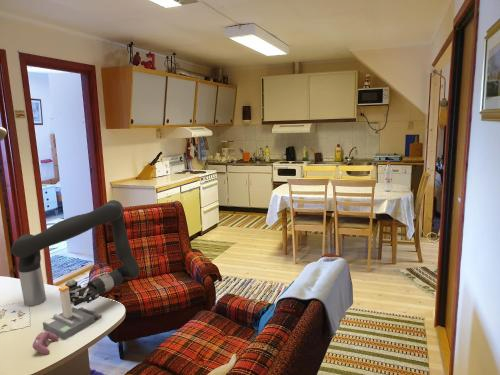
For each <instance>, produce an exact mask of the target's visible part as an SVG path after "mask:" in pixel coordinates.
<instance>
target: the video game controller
mask: <svg viewBox="0 0 500 375" xmlns="http://www.w3.org/2000/svg"><path fill="white" fill-rule="evenodd" d="M58 340H59V337H58V336H57V335H55V334H53V333H51V332H49V331H47V330H43V331H42V332H40V333H39V334H38V335H36V336H35V338H34V340H33V342H32V348H33V349H34V350H35V351H37V352H39V353H41V354H43V355H49V354H50V349H48V348H47V346H48V345H49V344H50V341H54V342H55V341H57V342H58Z"/></svg>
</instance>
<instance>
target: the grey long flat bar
mask: <svg viewBox="0 0 500 375" xmlns="http://www.w3.org/2000/svg"><path fill="white" fill-rule="evenodd" d="M78 309H79V310H81V311H83V312H86V313H88V314H90V315H93V316H94V318H95V322H97V321H99V320H100V319H102V314H99V313H96V312H94V311H92V310H89V309H87V308H85V307H82V306H81V307H78Z"/></svg>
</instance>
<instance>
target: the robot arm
mask: <svg viewBox="0 0 500 375" xmlns="http://www.w3.org/2000/svg"><path fill="white" fill-rule="evenodd" d="M107 223H108V224H109V223H110V225H111V229H112V230H111V231H112V236H113V244H114V245H113V246H114V249H115V253H116V258H117V260H118V261H119V262H121V263H122V265H120V266H118V267H116V268H115V269H114V270H112V271H110V272H109V273H106V274H103V275H100V276H98V277H96V278H94V279H91V280H90V281H88V282H87V284H86V286H82V284H77V286H76V287H74V288H71V289H69V295H70V298H71V297H79V299H77V300H75V301H73V302H72V303H73V307H77V306H78V305H80V304H83V303H87V304H90V303H91V302H94V301H95V300H96V299H98V298H100V295H101V296H102V294H105V293H107V292H108V291H110V290H112V289H113V288H115V287H117V286H119V285H121V284H122V282H123V281H124V280H125V279H128V280H129V279H130V280H134V279H137V278H138V277H139V276H140V270H141V269H140V266H139V263H138V261H137V259H136V258H135V256H134V255H133V251H132V247H131V244H130V240H129V238H128V233H127V228H126V224H125V219H124V207H123V204H122V203H121V202H120V201H119V200H116V199H115V200H114V199H111V200H109V201H106V202H105V203H104V204H103V205H101V206H99V207H98V208H96V209H94V210H92V211H90V212H87V213H82V214H77V215H74V216H71V217H68V218H66V219H63V220H61V221H58V222H57V223H54V224H53V225H50V227H48V228H46V229H44V230H43V231H41V232H39V233H37V234H34V235H33V234H30V233H26V234H22V235H21V236H19V237H18V238H17V239H16V240H14V242H13V243H12V246H11V249H10V250H11V251H10V252H11V254H12V255H13V256H14V257H16V258H17V259H18V263H17V270H18V271H17V272H18V277H19V282H20V288H21V292H22V298H23V304H24V306H26V307H34V306H38V305H41V304H43V303H44V302H46V300H47V295H46V289H45V284H44V278H43V271H42V264H41V261H42V260H41V258H42V256H41V251H42V250H43V249H46V248H49V247H51V246H54V245H56V244H60V243H63V242H64V241H68V240H70V239H72V238H75V237H77V236H79V235H82V234H84V233H86V232H88V231H90V230H92V229H93V228H96V227H99V226H101V225H105V224H107ZM72 290H73V291H72ZM77 293H78V294H77ZM73 294H74V295H73Z"/></svg>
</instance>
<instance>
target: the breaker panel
mask: <svg viewBox="0 0 500 375" xmlns="http://www.w3.org/2000/svg"><path fill="white" fill-rule="evenodd" d="M71 308H72V314H73V319H71V320H68V319H66V318H64V316H63V312H61V313H59V314H58V313H55V314H53V315H52V316H53V317H51V318H49V319H47V320H45V321H43V322H42V328H43V330H44V331H49V332H51V333H53V334H55V335H57V336H58V338H60V339H62V340H64V341H65V340H67V339H68V338H70V337H72V336H73V335H75V334H77V333H79V332H81V331H83V330H84V329H86V328H88V327H89V326H91V325H93V324H95V323H96V321H95V318H94V316H93V315H90V314H88V313H86V312H83V311H81V310H79V308H76V307H75V306H72V307H71Z"/></svg>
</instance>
